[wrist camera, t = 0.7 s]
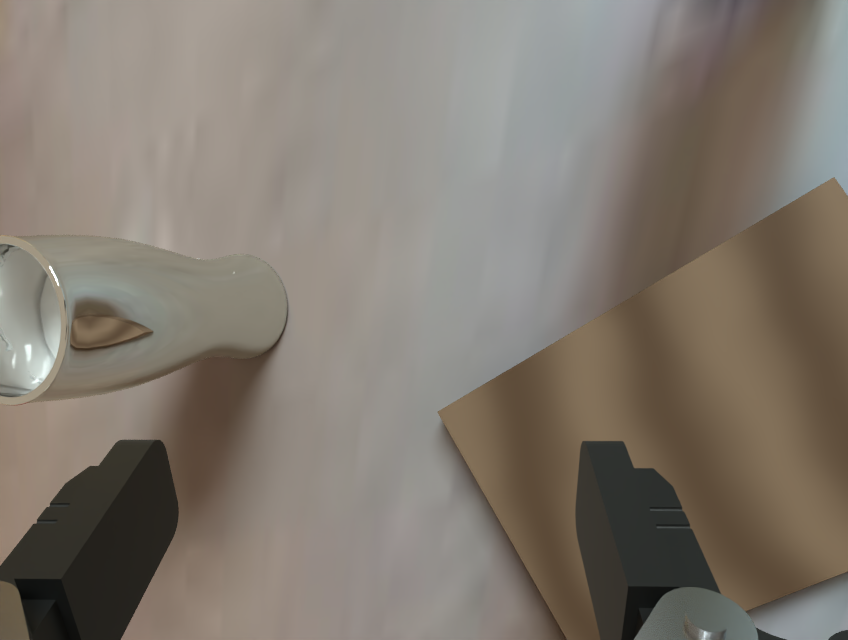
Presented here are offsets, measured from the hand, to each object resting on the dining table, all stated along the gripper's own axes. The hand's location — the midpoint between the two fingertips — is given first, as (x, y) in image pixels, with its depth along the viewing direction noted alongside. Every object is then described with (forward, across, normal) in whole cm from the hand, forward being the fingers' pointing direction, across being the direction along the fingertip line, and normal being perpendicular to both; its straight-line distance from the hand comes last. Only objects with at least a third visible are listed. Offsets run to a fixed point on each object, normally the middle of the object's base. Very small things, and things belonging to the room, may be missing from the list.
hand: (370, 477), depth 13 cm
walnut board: (+16, -13, +10) cm, 23 cm away
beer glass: (+26, +11, +8) cm, 29 cm away
